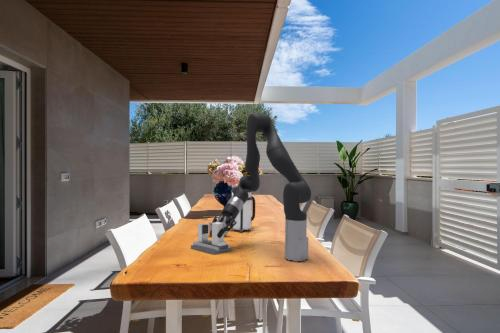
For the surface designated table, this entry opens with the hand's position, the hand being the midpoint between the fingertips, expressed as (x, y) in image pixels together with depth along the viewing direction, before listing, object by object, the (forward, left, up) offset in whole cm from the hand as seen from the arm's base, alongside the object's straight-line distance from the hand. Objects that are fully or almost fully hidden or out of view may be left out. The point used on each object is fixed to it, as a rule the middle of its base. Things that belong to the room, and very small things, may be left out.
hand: (214, 235), depth 163 cm
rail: (+4, -2, -7) cm, 9 cm away
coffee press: (+28, -48, -8) cm, 56 cm away
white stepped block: (0, -2, -4) cm, 5 cm away
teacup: (+24, -26, -8) cm, 36 cm away
